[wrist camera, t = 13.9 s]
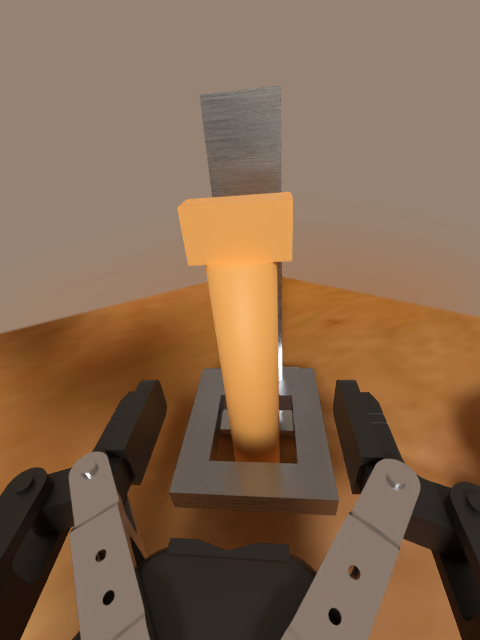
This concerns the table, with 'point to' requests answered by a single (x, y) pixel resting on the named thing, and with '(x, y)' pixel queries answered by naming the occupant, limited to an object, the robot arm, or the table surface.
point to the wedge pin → (244, 305)
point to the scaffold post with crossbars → (294, 383)
